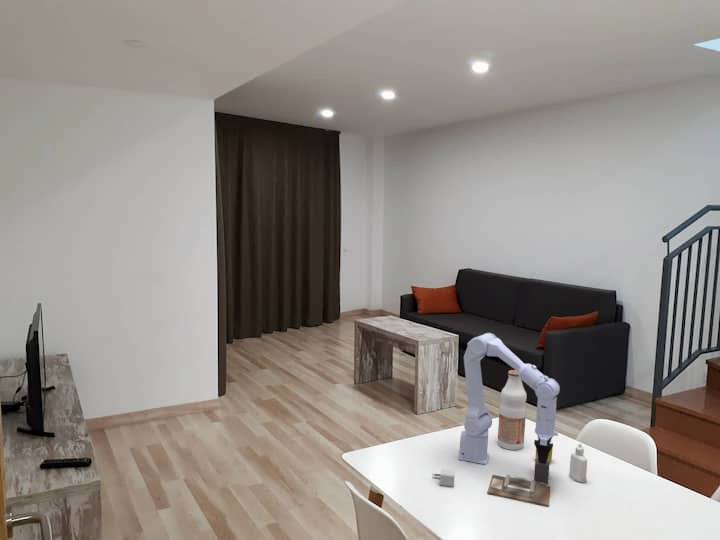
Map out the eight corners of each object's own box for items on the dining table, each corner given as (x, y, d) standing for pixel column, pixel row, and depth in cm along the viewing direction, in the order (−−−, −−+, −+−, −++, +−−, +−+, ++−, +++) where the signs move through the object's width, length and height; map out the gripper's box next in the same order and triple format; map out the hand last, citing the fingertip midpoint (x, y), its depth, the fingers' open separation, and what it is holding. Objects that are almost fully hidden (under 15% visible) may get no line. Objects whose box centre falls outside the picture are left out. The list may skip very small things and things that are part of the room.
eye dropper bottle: (572, 482, 178) (575, 447, 176) (568, 474, 183) (571, 439, 182) (586, 483, 177) (589, 448, 176) (581, 475, 183) (584, 440, 181)
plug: (533, 481, 178) (534, 463, 177) (534, 476, 181) (535, 459, 180) (548, 484, 176) (549, 466, 175) (548, 479, 179) (549, 461, 179)
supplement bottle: (548, 465, 189) (550, 438, 187) (533, 460, 192) (534, 434, 191) (553, 460, 193) (555, 433, 192) (538, 455, 196) (540, 429, 195)
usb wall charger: (453, 487, 172) (454, 475, 172) (431, 484, 173) (432, 472, 173) (454, 481, 176) (454, 469, 176) (432, 478, 177) (433, 467, 177)
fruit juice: (504, 451, 198) (509, 376, 195) (492, 440, 208) (497, 368, 204) (528, 449, 201) (533, 375, 197) (515, 438, 210) (520, 367, 206)
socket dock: (487, 493, 169) (487, 486, 169) (492, 476, 180) (492, 468, 180) (548, 507, 163) (549, 498, 162) (550, 487, 174) (550, 480, 173)
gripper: (558, 428, 168) (555, 470, 169) (559, 411, 181) (556, 450, 183) (534, 424, 170) (531, 465, 172) (537, 408, 184) (534, 447, 185)
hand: (542, 457), depth 178 cm, fingers open, 7 cm apart
